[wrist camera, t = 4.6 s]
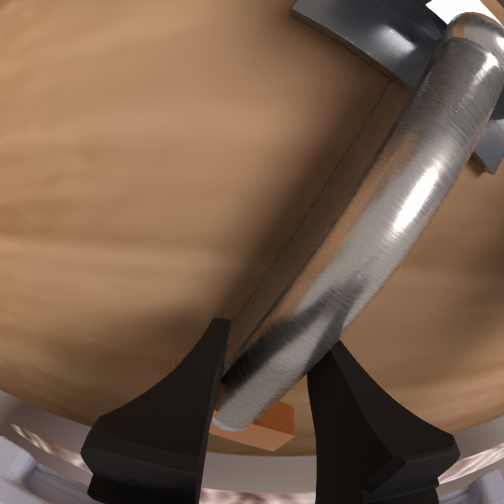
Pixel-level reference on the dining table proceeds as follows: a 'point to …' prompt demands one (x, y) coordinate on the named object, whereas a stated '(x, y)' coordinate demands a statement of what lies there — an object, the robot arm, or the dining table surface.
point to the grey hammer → (375, 129)
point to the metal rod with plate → (367, 234)
